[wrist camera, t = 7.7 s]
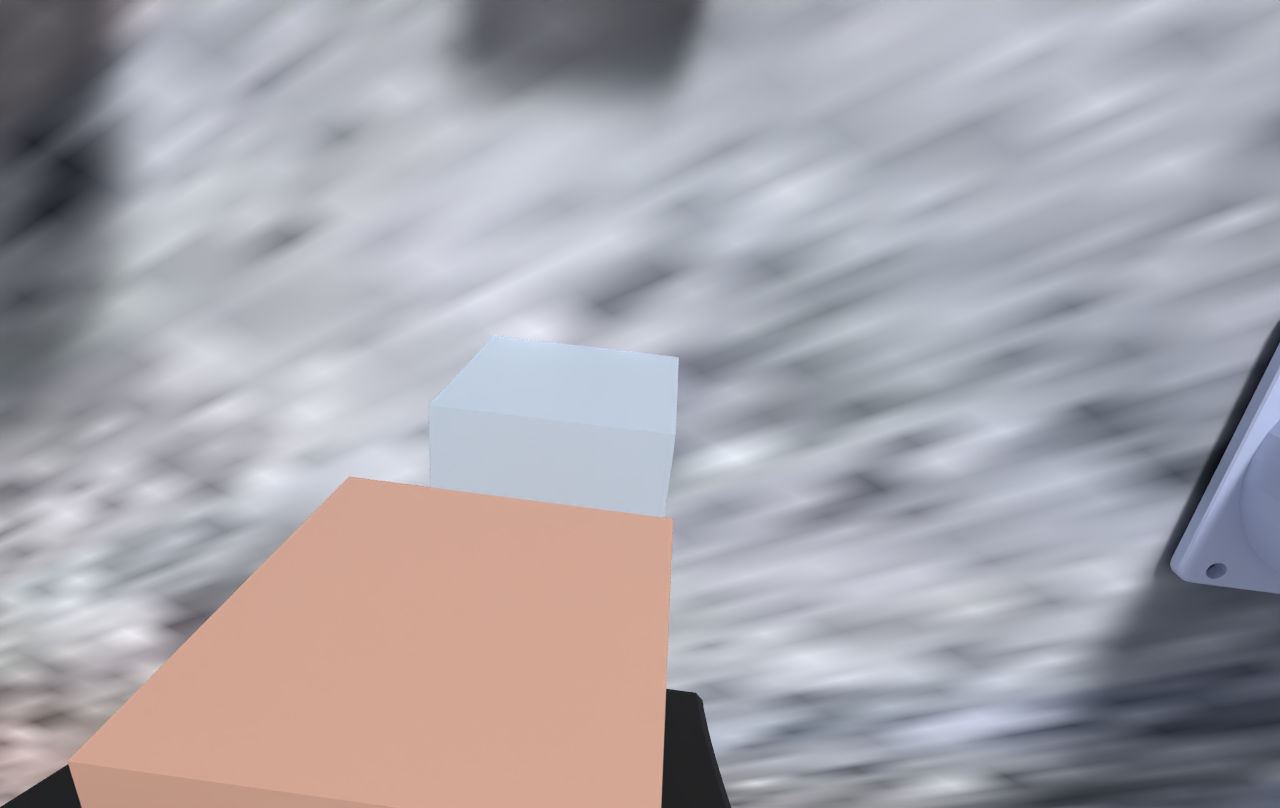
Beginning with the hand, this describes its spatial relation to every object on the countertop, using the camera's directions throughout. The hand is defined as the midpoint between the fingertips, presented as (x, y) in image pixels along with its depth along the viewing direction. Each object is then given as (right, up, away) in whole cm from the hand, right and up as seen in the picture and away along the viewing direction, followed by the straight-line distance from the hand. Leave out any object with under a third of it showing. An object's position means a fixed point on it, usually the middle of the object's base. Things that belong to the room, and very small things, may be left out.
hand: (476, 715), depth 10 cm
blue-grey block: (+1, +4, +9) cm, 10 cm away
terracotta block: (0, +1, +1) cm, 2 cm away
